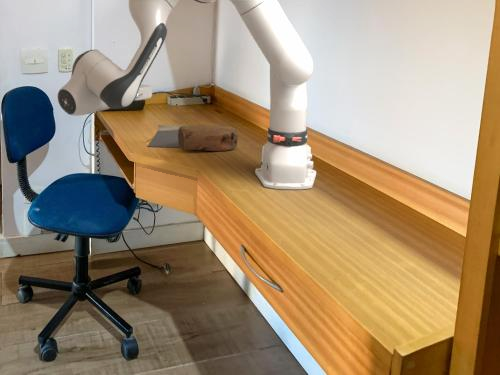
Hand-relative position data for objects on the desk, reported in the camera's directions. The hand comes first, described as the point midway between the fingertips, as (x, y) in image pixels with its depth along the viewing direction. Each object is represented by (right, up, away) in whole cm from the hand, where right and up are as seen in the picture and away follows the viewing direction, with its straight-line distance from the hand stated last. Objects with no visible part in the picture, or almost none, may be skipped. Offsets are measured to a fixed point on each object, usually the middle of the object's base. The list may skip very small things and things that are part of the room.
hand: (136, 86), depth 184 cm
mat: (+8, -13, +38) cm, 41 cm away
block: (+11, -14, +22) cm, 28 cm away
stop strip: (+8, -9, +51) cm, 52 cm away
